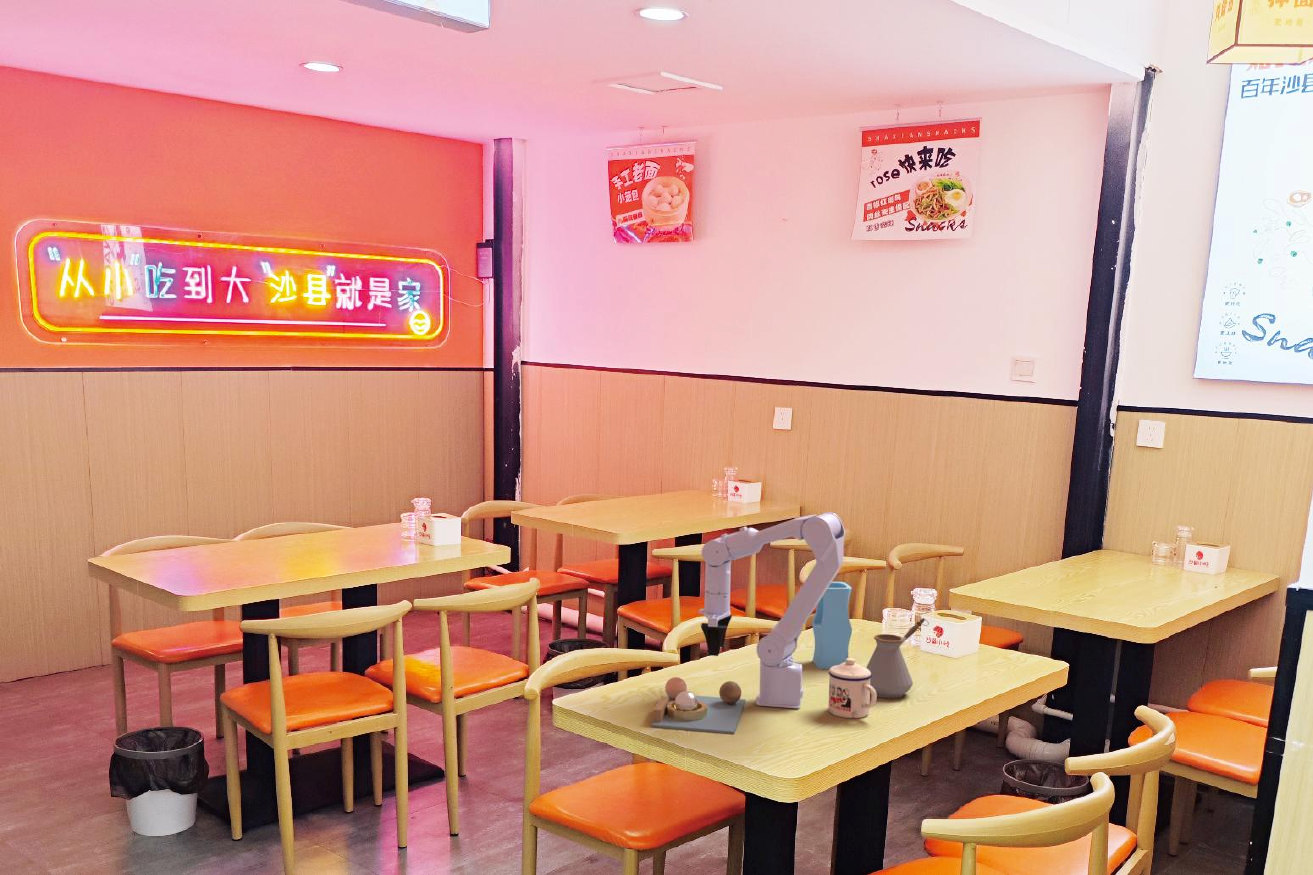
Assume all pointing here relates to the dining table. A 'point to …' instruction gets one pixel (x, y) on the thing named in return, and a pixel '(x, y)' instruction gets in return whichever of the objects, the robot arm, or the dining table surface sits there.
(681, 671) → the dining table surface
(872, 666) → the coffee pot
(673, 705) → the tan round shallow dish
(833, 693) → the teacup with lid
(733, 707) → the slate mat
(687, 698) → the silver steel ball
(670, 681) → the terracotta ball
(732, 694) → the walnut ball
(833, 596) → the vase
